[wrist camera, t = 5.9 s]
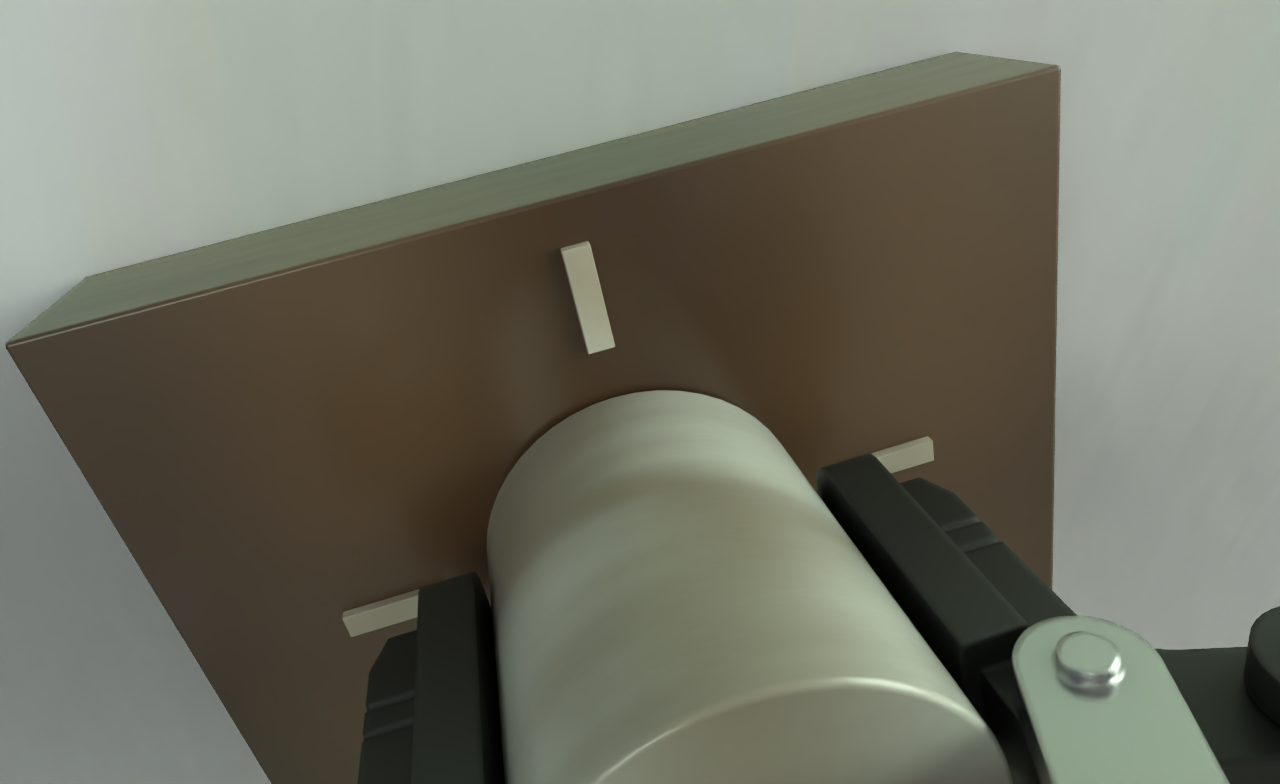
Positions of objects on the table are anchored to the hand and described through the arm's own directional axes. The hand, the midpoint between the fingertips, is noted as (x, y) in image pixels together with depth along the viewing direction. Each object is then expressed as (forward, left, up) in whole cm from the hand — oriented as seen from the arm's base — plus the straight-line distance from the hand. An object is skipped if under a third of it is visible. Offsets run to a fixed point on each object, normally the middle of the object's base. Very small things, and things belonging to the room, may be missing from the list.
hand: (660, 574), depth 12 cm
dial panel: (0, 0, -4) cm, 4 cm away
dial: (0, 0, -1) cm, 1 cm away
